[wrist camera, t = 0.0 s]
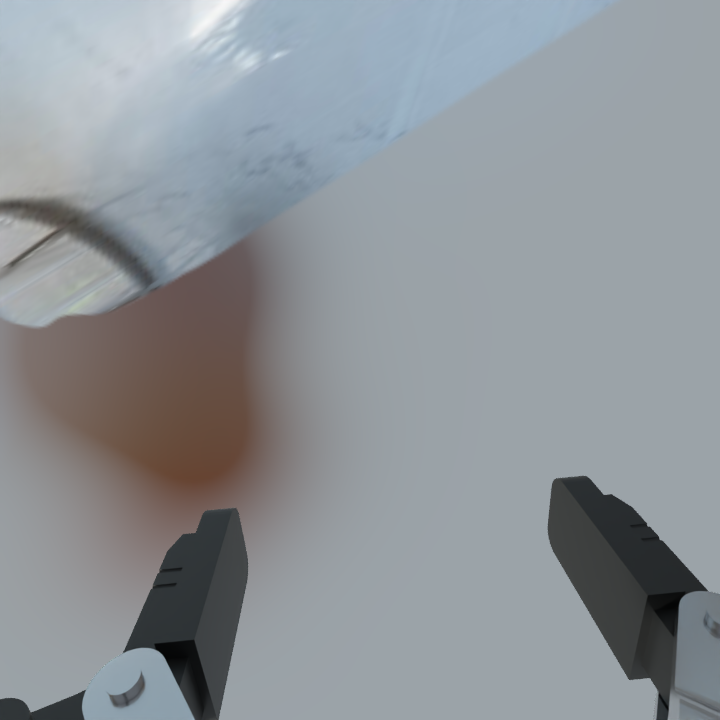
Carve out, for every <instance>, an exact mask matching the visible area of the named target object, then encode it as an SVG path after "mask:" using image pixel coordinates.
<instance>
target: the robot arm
mask: <svg viewBox="0 0 720 720" xmlns="http://www.w3.org/2000/svg"><path fill="white" fill-rule="evenodd" d="M548 535H549V540H550V544H551V547H552V549H553V552H554V553H555V555H556V557H557V558H558V560H559V562H560V564H561V565H562V567H563V568H564V570H565V572H566V574H567V575H568V577H569V579H570V581H571V582H572V584H573V586H574V587H575V589H576V591H577V592H578V594H579V596H580V598H581V599H582V601H583V603H584V604H585V606H586V607H587V609H588V611H589V613H590V614H591V616H592V618H593V620H594V621H595V623H596V625H597V626H598V628H599V630H600V631H601V633H602V635H603V636H604V638H605V640H606V641H607V643H608V645H609V647H610V648H611V650H612V652H613V653H614V655H615V657H616V658H617V660H618V662H619V663H620V665H621V667H622V669H623V670H624V672H625V674H626V675H627V677H628V679H629V680H633V679H643V678H651V680H652V682H653V683H654V685H655V686H656V688H657V694H656V699H655V708H654V719H653V720H720V594H717V593H713V592H709V591H708V590H707V589H706V588H705V587H704V586H703V585H702V584H701V583H700V582H699V580H697V578H696V577H695V576H694V575H693V574H692V573H691V572H690V571H689V570H688V568H687V567H686V566H685V565H684V564H683V563H682V562H681V561H680V559H679V558H678V557H677V556H676V555H675V554H674V553H673V552H672V551H671V550H670V549H669V547H668V546H667V545H666V544H665V543H664V542H663V541H661V540H659V536H658V535H657V534H656V533H655V532H654V531H653V530H652V529H651V527H648V526H647V523H646V522H645V521H644V520H643V519H642V518H641V516H640V515H639V514H638V513H637V512H636V511H635V510H634V509H633V508H632V507H631V506H629V505H628V504H626V503H625V502H623V501H621V500H620V499H618V498H616V497H615V496H613V495H612V494H610V495H603V494H602V492H601V491H600V490H599V489H598V488H597V487H596V485H595V484H594V483H593V482H592V481H591V480H590V479H589V478H588V477H587V476H578V477H568V478H558V479H557V478H556V479H555V480H554V481H553V483H552V489H551V499H550V510H549V519H548ZM247 576H248V558H247V552H246V547H245V542H244V537H243V533H242V528H241V523H240V518H239V513H238V511H237V509H236V508H228V509H218V510H207V511H205V512H204V513H203V515H202V518H201V521H200V523H199V526H198V528H197V531H196V533H191V534H183V535H182V536H181V537H180V538H179V539H178V540H177V541H176V543H175V544H174V545H173V546H172V547H171V548H170V549H169V550H168V551H167V554H166V556H165V558H164V560H163V563H162V565H161V567H160V572H159V573H158V574H157V576H156V579H155V581H154V584H153V589H151V590H150V593H149V595H148V597H147V600H146V602H145V604H144V606H143V609H142V611H141V613H140V616H139V618H138V620H137V623H136V625H135V627H134V629H133V632H132V634H131V637H130V639H129V641H128V643H127V646H126V648H125V650H124V652H123V653H122V654H121V655H119V656H117V657H115V658H114V659H112V660H111V661H109V662H108V663H107V664H106V665H105V666H103V667H102V669H100V670H99V672H98V673H97V674H96V675H95V676H94V678H93V679H92V680H91V682H90V683H89V685H88V687H87V689H86V690H84V691H82V692H81V693H78V694H76V695H74V696H71V697H69V698H67V699H64V700H61V701H59V702H56V703H54V704H52V705H49V706H47V707H44V708H42V709H39V710H37V711H34V712H32V713H31V712H30V710H29V708H28V707H27V705H26V704H25V703H24V702H23V701H21V700H19V699H15V698H5V699H0V720H218V719H219V714H220V710H221V705H222V700H223V695H224V690H225V685H226V681H227V676H228V671H229V666H230V661H231V656H232V652H233V647H234V642H235V636H236V632H237V627H238V623H239V618H240V613H241V608H242V603H243V598H244V594H245V589H246V583H247Z"/></svg>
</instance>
